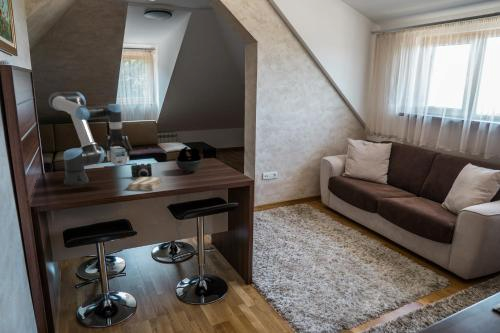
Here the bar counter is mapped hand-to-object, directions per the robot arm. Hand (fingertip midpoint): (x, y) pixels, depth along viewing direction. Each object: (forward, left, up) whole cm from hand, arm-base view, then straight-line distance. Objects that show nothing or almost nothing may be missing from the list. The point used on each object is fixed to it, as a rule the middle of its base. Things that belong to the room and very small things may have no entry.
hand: (118, 160), depth 225 cm
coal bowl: (+36, +42, -17) cm, 58 cm away
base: (+17, +1, -17) cm, 24 cm away
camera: (+7, +21, -17) cm, 28 cm away
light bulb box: (0, 0, -2) cm, 2 cm away
